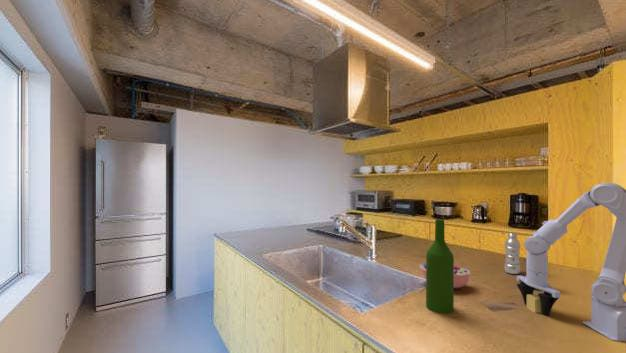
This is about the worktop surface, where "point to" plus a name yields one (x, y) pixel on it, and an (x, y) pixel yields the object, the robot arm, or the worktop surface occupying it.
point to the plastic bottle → (512, 254)
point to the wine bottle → (440, 274)
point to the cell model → (459, 275)
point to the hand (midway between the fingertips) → (536, 309)
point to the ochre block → (534, 303)
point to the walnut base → (500, 306)
